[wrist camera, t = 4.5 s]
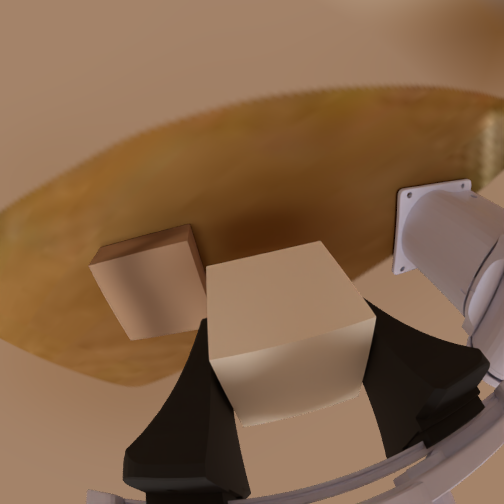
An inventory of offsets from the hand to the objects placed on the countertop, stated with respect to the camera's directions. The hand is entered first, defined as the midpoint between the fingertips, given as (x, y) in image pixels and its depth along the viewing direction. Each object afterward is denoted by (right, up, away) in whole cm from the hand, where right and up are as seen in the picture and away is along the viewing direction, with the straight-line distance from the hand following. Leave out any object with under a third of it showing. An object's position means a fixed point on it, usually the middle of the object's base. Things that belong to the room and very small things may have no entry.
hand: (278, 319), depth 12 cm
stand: (-8, +1, +8) cm, 11 cm away
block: (0, +1, +1) cm, 1 cm away
